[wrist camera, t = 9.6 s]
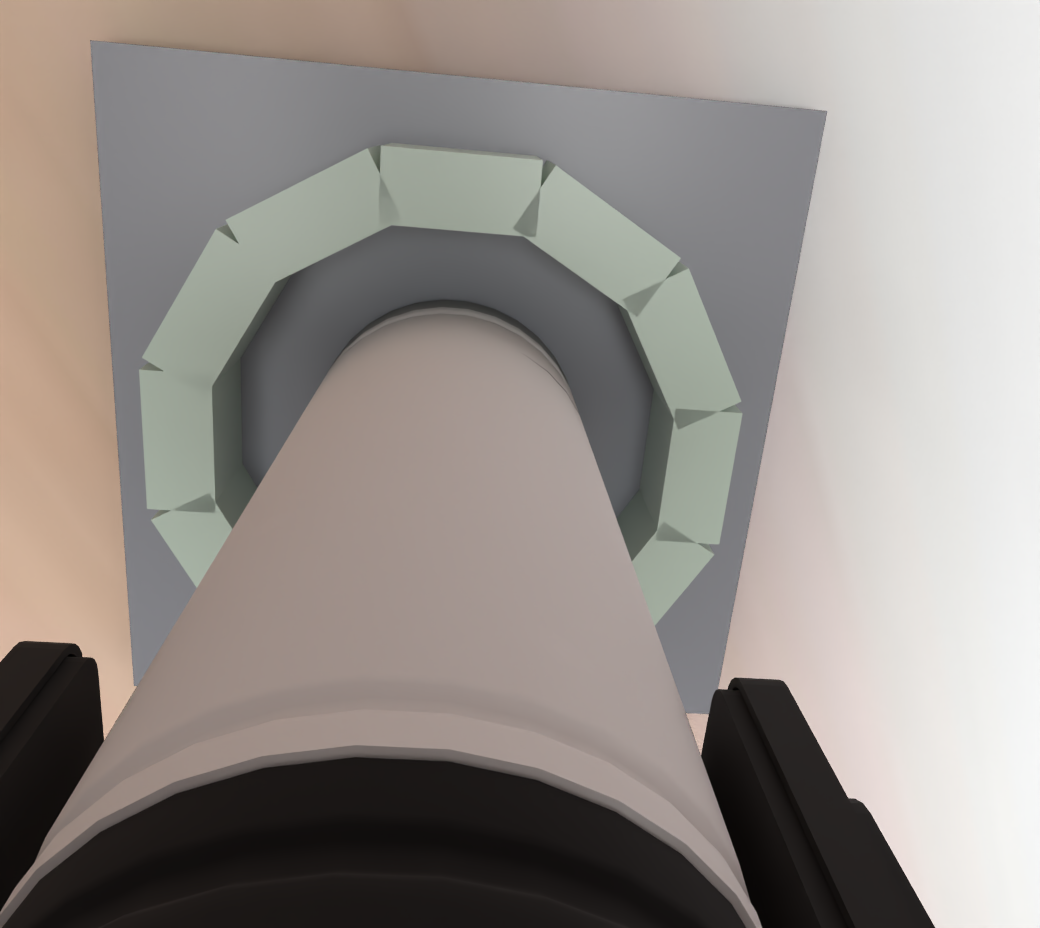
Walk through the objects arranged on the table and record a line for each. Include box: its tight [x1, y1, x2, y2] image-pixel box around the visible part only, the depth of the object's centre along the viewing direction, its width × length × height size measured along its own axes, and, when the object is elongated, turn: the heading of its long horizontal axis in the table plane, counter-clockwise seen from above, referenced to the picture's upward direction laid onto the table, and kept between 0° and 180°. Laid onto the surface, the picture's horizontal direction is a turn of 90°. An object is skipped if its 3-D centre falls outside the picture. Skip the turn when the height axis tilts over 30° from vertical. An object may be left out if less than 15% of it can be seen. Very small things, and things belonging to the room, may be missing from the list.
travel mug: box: [0, 300, 762, 928], centre depth 13 cm, size 6×7×20 cm
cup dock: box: [90, 40, 827, 714], centre depth 22 cm, size 16×16×4 cm
